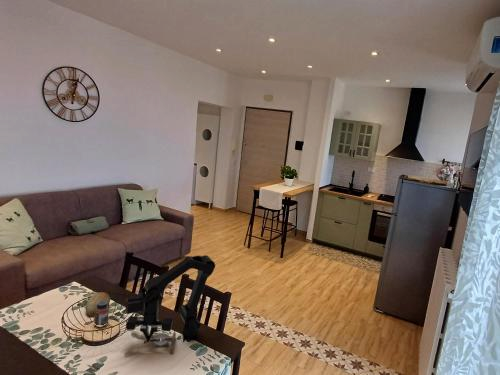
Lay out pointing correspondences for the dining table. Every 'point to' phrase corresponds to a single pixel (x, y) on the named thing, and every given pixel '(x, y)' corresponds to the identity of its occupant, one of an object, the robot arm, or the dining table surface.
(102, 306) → the supplement bottle
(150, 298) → the robot arm
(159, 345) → the stud
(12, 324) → the dining table surface
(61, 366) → the dining table surface
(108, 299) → the bread roll
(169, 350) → the channel
